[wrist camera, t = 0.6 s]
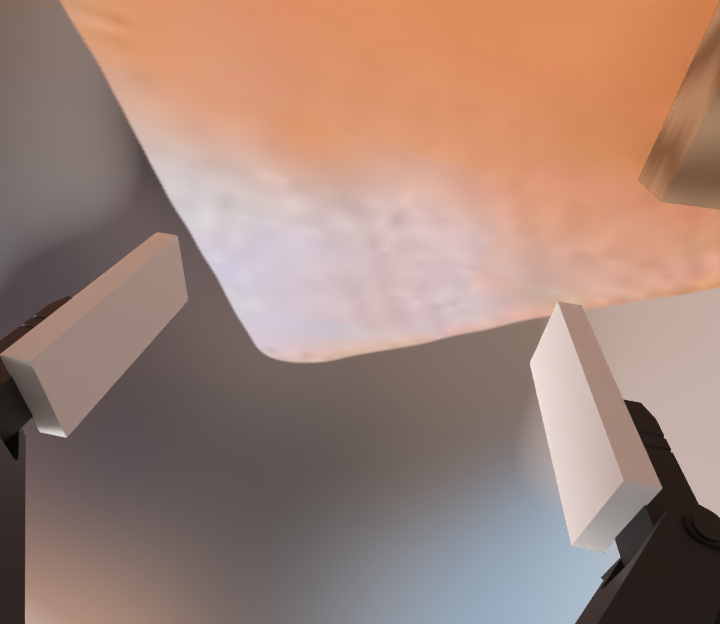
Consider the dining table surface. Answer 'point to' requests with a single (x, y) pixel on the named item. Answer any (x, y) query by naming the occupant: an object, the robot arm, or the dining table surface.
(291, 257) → the dining table surface
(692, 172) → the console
